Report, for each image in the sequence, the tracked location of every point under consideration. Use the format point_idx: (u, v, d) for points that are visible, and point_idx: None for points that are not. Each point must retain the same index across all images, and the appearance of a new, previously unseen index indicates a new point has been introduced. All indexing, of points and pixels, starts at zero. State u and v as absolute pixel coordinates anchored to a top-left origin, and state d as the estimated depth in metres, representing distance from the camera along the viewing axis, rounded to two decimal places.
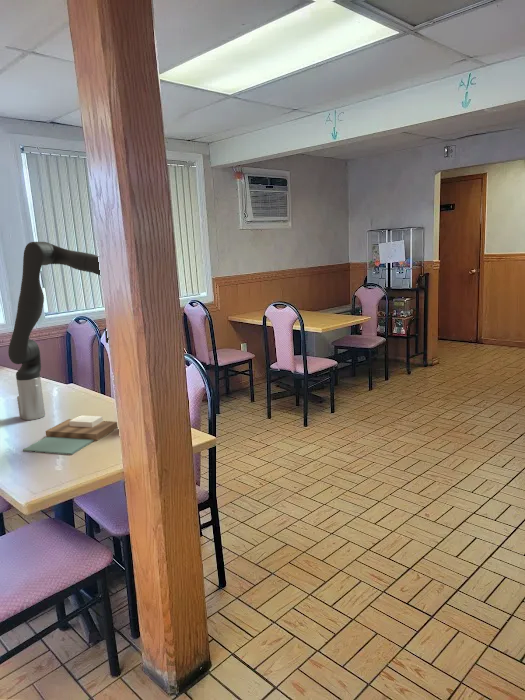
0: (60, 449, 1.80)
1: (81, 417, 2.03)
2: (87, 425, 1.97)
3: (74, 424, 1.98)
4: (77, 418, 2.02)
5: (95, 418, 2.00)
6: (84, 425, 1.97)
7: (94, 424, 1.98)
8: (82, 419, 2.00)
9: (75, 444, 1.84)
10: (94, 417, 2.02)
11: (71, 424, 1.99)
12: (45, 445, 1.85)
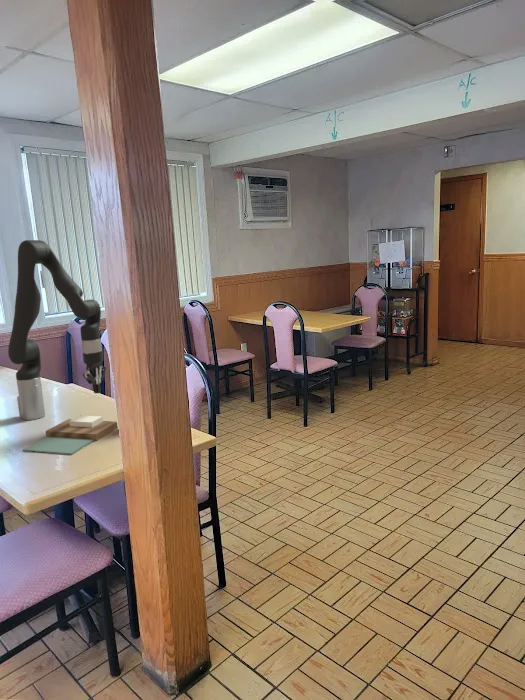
0: (60, 449, 1.80)
1: (81, 417, 2.03)
2: (87, 425, 1.97)
3: (74, 424, 1.98)
4: (77, 418, 2.02)
5: (95, 418, 2.00)
6: (84, 425, 1.97)
7: (94, 424, 1.98)
8: (82, 419, 2.00)
9: (75, 444, 1.84)
10: (94, 417, 2.02)
11: (71, 424, 1.99)
12: (45, 445, 1.85)
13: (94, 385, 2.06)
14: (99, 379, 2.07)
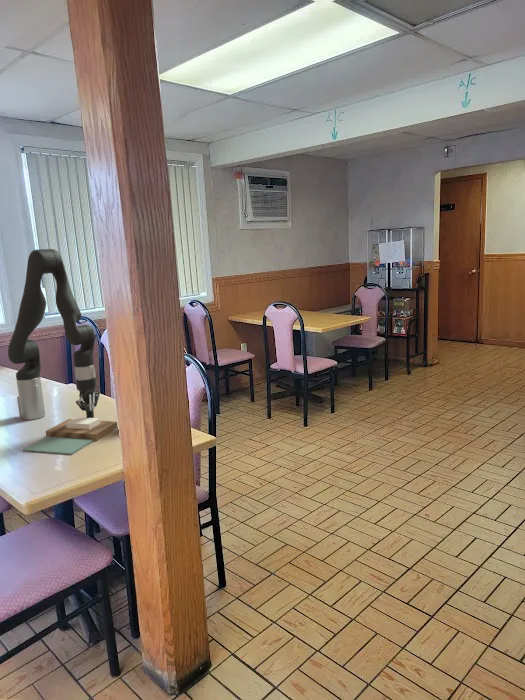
0: (60, 449, 1.80)
1: (78, 419, 2.00)
2: (84, 427, 1.95)
3: (71, 426, 1.96)
4: (74, 420, 1.99)
5: (92, 420, 1.98)
6: (81, 427, 1.95)
7: (91, 426, 1.96)
8: (79, 421, 1.98)
9: (75, 444, 1.84)
10: (91, 419, 2.00)
11: (68, 426, 1.97)
12: (45, 445, 1.85)
13: (87, 412, 2.01)
14: (92, 405, 2.03)
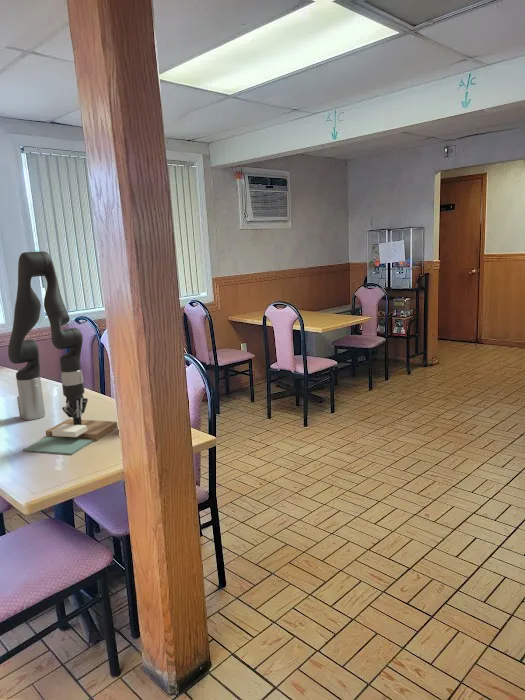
0: (60, 449, 1.80)
1: (64, 426, 1.93)
2: (70, 435, 1.87)
3: (57, 434, 1.88)
4: (60, 427, 1.92)
5: (79, 427, 1.91)
6: (67, 435, 1.87)
7: (78, 434, 1.88)
8: (65, 428, 1.90)
9: (75, 444, 1.84)
10: (78, 426, 1.92)
11: (54, 434, 1.89)
12: (45, 445, 1.85)
13: (74, 418, 1.94)
14: (80, 412, 1.95)
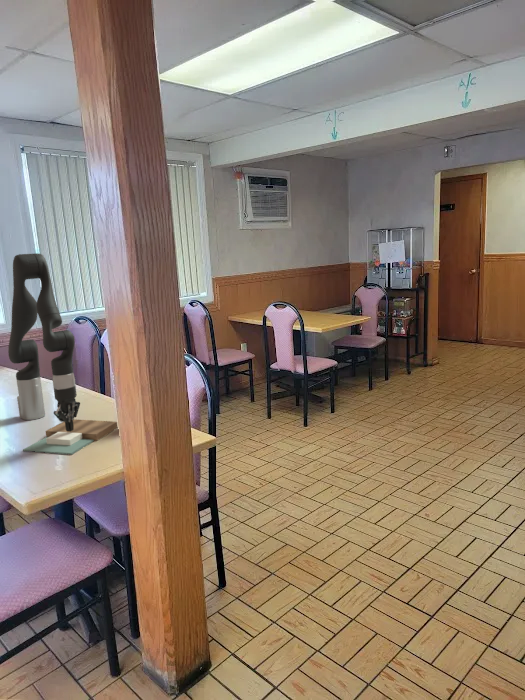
0: (60, 449, 1.80)
1: (59, 434, 1.90)
2: (65, 443, 1.84)
3: (51, 442, 1.86)
4: (55, 435, 1.89)
5: (74, 435, 1.88)
6: (62, 443, 1.85)
7: (72, 442, 1.85)
8: (60, 436, 1.88)
9: (75, 444, 1.84)
10: (73, 434, 1.89)
11: (48, 442, 1.86)
12: (45, 445, 1.85)
13: (66, 423, 1.89)
14: (72, 416, 1.91)
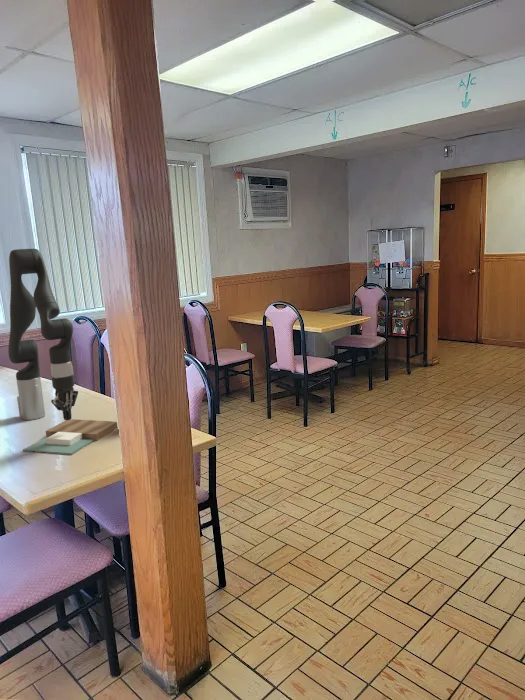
0: (60, 449, 1.80)
1: (59, 434, 1.90)
2: (65, 443, 1.84)
3: (51, 442, 1.86)
4: (55, 435, 1.89)
5: (74, 435, 1.88)
6: (62, 443, 1.85)
7: (72, 442, 1.85)
8: (60, 436, 1.88)
9: (75, 444, 1.84)
10: (73, 434, 1.89)
11: (48, 442, 1.86)
12: (45, 445, 1.85)
13: (64, 411, 1.88)
14: (70, 405, 1.90)
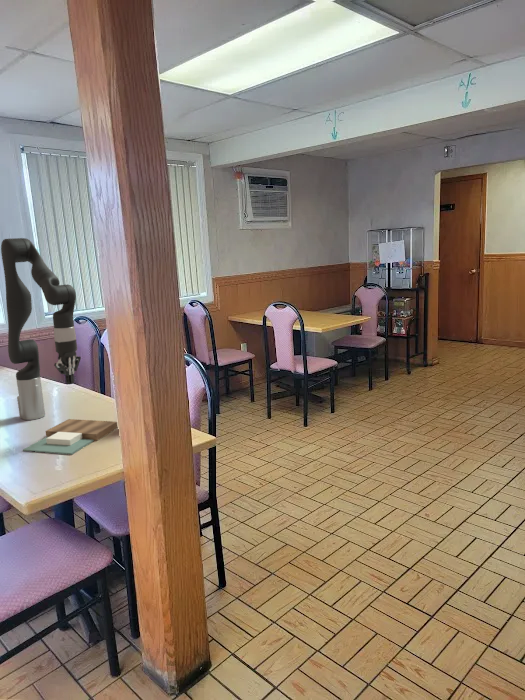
0: (60, 449, 1.80)
1: (59, 434, 1.90)
2: (65, 443, 1.84)
3: (51, 442, 1.86)
4: (55, 435, 1.89)
5: (74, 435, 1.88)
6: (62, 443, 1.85)
7: (72, 442, 1.85)
8: (60, 436, 1.88)
9: (75, 444, 1.84)
10: (73, 434, 1.89)
11: (48, 442, 1.86)
12: (45, 445, 1.85)
13: (67, 375, 1.94)
14: (72, 369, 1.95)
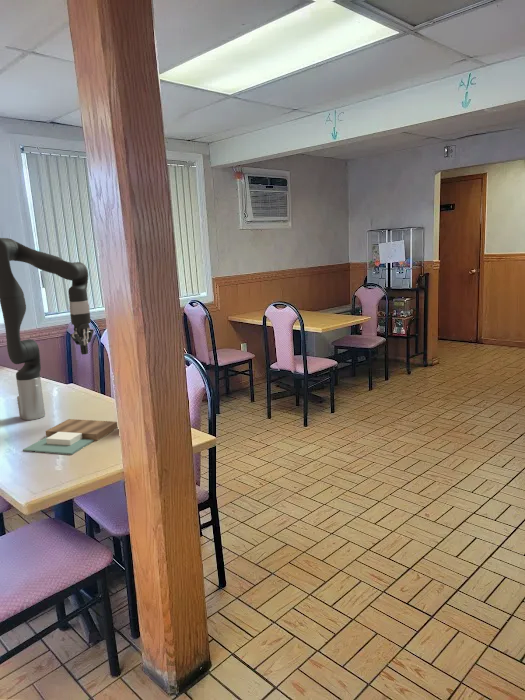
0: (60, 449, 1.80)
1: (59, 434, 1.90)
2: (65, 443, 1.84)
3: (51, 442, 1.86)
4: (55, 435, 1.89)
5: (74, 435, 1.88)
6: (62, 443, 1.85)
7: (72, 442, 1.85)
8: (60, 436, 1.88)
9: (75, 444, 1.84)
10: (73, 434, 1.89)
11: (48, 442, 1.86)
12: (45, 445, 1.85)
13: (81, 346, 2.11)
14: (86, 340, 2.12)
